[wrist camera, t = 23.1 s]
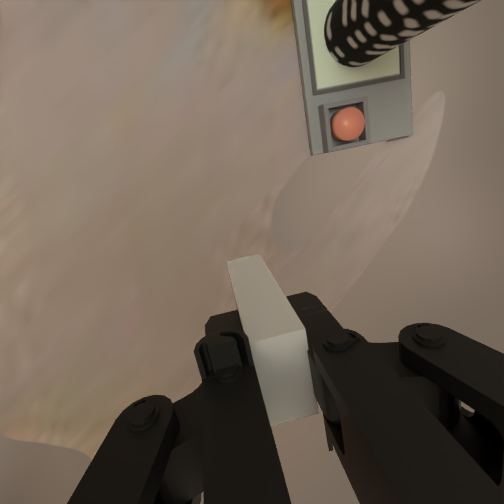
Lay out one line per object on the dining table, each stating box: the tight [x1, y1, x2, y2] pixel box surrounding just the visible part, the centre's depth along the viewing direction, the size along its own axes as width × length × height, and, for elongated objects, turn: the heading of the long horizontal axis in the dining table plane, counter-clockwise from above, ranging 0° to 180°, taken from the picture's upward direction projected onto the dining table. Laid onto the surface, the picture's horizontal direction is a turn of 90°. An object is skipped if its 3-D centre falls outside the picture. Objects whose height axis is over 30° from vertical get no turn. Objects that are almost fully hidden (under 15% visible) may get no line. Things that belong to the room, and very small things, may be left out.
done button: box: [330, 107, 365, 141], centre depth 43 cm, size 4×4×2 cm
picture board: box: [291, 0, 413, 155], centre depth 42 cm, size 20×15×3 cm
